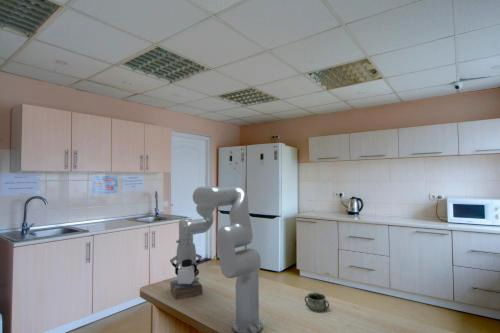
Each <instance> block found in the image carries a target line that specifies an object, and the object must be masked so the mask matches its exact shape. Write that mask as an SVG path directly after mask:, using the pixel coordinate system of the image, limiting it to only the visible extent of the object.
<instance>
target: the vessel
mask: <svg viewBox="0 0 500 333" xmlns="http://www.w3.org/2000/svg"><path fill="white" fill-rule="evenodd" d="M304 302H305V305H306V306H308V308H309V310H310V311H312V312H319V313H320V312H323V311H325V312H326V311H329V308H330V302H329V301H328V299H327V296H326V295H325V294H324V293H321V292H309V293H307V295H305V296H304Z"/></svg>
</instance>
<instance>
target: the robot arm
mask: <svg viewBox="0 0 500 333" xmlns="http://www.w3.org/2000/svg"><path fill="white" fill-rule="evenodd" d="M192 201H193V203H194V204H195V205H196V207H195V210H196V212H197V214H198V215H199V216H200V217H202V218H198V219H192V218H181V219H179V221H178V240H176V241H175V243H176V244H177V247H176V254H175V256H174V257H172V258H171V259H169V262H170V264H171V265H172V266H173V267H174V268H175V269H174V273H175V275H176V276H177V277H178V270H179V269H180V268H179V267H180V265H181V262H182V261H183V260H189V259H190V260H192V266H194V273H196V272H197V269H198V265H199V263H200V261H201V260H202V255H200V254H198V253H197V250H196V245H195V243H194V235H198V234H204V233H207V232H208V231H210V229H211V227H212V225H213V223H214V220H215V218H214V214H213V213H214V212H215V209H216V208H217V207H218V208H219V207H227V206H231V207H230V210H229V215H228V216H229V220H230V221H229V222H230V224H227V225H223V226H221V227H220V228H219V229H218V231H217V234H216V248H217V253H218V260H219V266H220V267H219V268H220V270H221V273H222V275H223V276H224V277H225V278H226V279H235V278H236V280H235V319H234V320H233V321H232V323H231V327H232V328H231V329H232V330H233V331H234V332H235V333H259V332H261V331H262V329H263V326H264V324H263V323H264V322H263V320H261V319H260V313H259V312H260V309H259V308H260V303H259V302H260V301H259V300H260V299H259V297H260V295H259V292H260V291H259V288H260V287H259V286H260V284H259V283H260V282H259V281H260V280H259V279H260V271H261V270H260V269H261V265H262V258H261V255H260V253H259V252H258V250H256V249H254V248H244V249H240V250H239V249H238V250H236V249H237V248H241V247H245V246H247V245H250V244H251V243H252V242H253V239H254V234H253V230H252V229H253V228H252V224H251V222H252V221H251V218H250V213H249V212H250V211H249V198H248V194H247V192H246V190H245V189H244V188H242V187H239V186H219V187H218V186H213V185H210V186H199V187H197V188H195V189H194V191H193V193H192ZM174 261H175V262H176V263H175V262H174Z"/></svg>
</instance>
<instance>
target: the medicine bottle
mask: <svg viewBox="0 0 500 333" xmlns="http://www.w3.org/2000/svg"><path fill="white" fill-rule="evenodd" d="M179 267H180V268H179V270H178V276H177V280H178V284H191V283H192V282H193V280H194V266H193V263H192V260H190V259H189V260H183V261H182V262H181V265H179Z"/></svg>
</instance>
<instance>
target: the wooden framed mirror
mask: <svg viewBox="0 0 500 333" xmlns="http://www.w3.org/2000/svg"><path fill="white" fill-rule="evenodd" d="M170 292H171V294H172V295H173V297H174V299H175V300H181V299H185V298H191V297H196V296H201V295H203V285H202V283H201V282H200V281H199V280H198V278H196V277H194V280H193V282H192V283H191V284H178V279H176V280H171V281H170Z"/></svg>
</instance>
